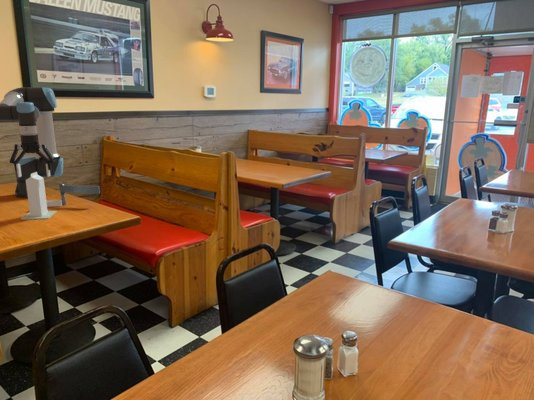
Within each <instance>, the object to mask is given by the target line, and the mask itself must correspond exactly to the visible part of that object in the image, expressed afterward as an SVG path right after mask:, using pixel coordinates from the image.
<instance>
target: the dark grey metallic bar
mask: <svg viewBox="0 0 534 400" xmlns="http://www.w3.org/2000/svg"><path fill="white" fill-rule="evenodd" d="M58 186H59V193H60V194H61V193H65V194H66V193H70V194H71V193H72V194H91V195H93V194H95V195H96V194H97V195H100V194H101V186H100V185H79V184H78V185H75V184H65V183H59V185H58Z"/></svg>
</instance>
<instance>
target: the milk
mask: <svg viewBox="0 0 534 400" xmlns="http://www.w3.org/2000/svg"><path fill="white" fill-rule="evenodd" d="M44 178H45V177H41V176H39V175H38V174H37V172H35V173H32V174H31V177H30V178H28V179H27V180H26V187H27V195H28V197H27V200H28V207H29V212H30V216H43V215H45V214H47V213H48V211H49V210H48V206H47V202H46V201H47V195H46V187H45V179H44Z"/></svg>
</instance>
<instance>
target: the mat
mask: <svg viewBox="0 0 534 400" xmlns="http://www.w3.org/2000/svg"><path fill="white" fill-rule="evenodd" d="M57 212H58V210H48V213H47V214H45V215H43V216H30V211H29V212H28V213H26V214H25V215H24V216H22V217H21V218H20V221H24V220H25V221H26V220H28V221H29V220H31V221H33V220H49V219H51V217H53V216H54V215H55V214H56V213H57Z"/></svg>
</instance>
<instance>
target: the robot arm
mask: <svg viewBox="0 0 534 400" xmlns="http://www.w3.org/2000/svg"><path fill="white" fill-rule="evenodd" d="M57 107H58V105H57V99H56V95H55V92H54V90H53V89H52V88H50V87H43V86H42V87H38V86H37V87H36V86H35V87H33V86H31V87H30V86H29V87H26V86H24V87H23V86H22V87H17V88H14V89H12V90H9V91H8V92H6V93H5V95H4V96H3V99H2V100H1V101H0V122H9V121H11V122H12V121H13V122H18V128H19V134H20V143H21V144H19V143H16V144H14V148H13V152H12V153H11V157H10V159H9V164H13V165H14V172H15V173H14V174H15V178H16V179H15V180H16V185H15V189H14V196H15V197H17V198H28V195H27V187H26V180H27V179H28V178H30V177H31V174H32V173H35V172H37V174H38V175H39V176H41V177H43V178H55V177H56V178H57V177H61V176H63V173H64V172H63V171H64V158H63V157H61V154H60V153H58V151H57V144H56V135H55V127H54V126H55V125H54V120H53V113H54V112H55V109H56V108H57ZM20 149H22V151H21V152H20V153H19V150H20ZM18 153H19V155H18ZM26 154H36V155H38V158H37V157H36V156H35V155H29V156H25V155H26ZM17 155H18V156H17Z"/></svg>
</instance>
